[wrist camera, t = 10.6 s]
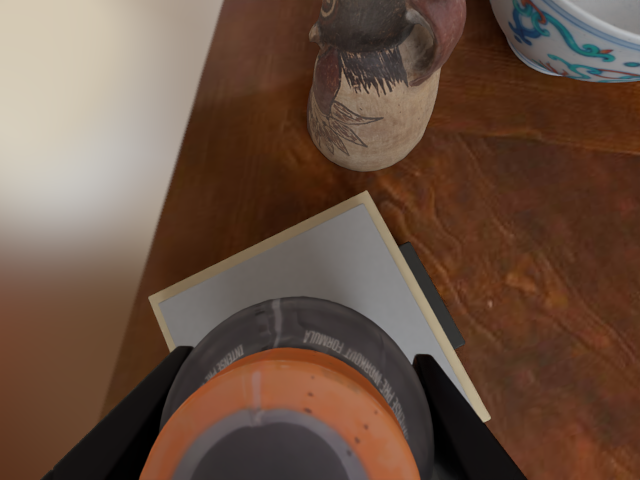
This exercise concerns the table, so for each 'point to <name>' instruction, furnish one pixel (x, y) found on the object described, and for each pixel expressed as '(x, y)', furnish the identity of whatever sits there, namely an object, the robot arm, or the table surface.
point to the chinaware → (574, 37)
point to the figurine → (378, 76)
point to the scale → (325, 286)
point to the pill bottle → (295, 401)
